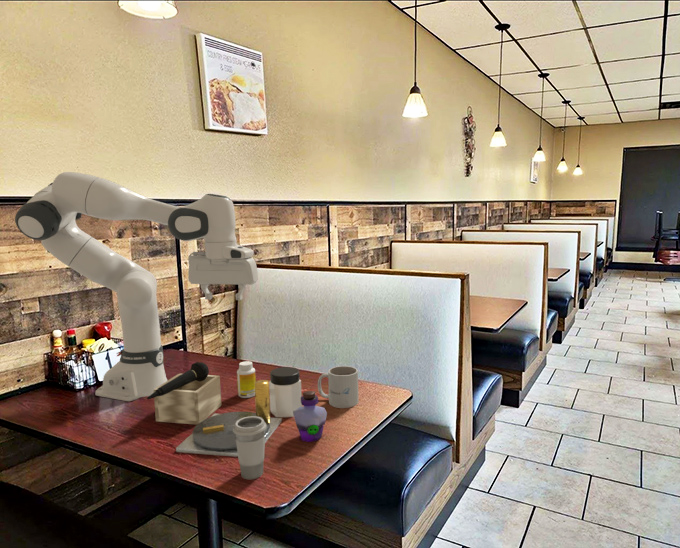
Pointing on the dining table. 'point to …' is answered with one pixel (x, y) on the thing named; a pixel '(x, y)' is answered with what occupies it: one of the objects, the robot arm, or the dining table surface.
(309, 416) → the potion bottle
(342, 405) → the mug
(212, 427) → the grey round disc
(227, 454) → the base
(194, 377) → the microphone
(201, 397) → the open wooden box
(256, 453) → the cup
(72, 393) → the dining table surface
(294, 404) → the jar
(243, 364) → the supplement bottle
